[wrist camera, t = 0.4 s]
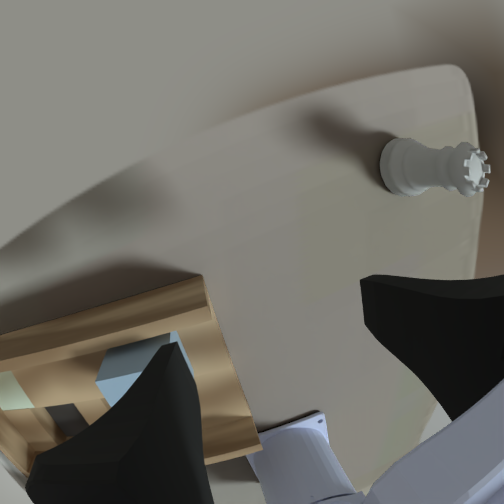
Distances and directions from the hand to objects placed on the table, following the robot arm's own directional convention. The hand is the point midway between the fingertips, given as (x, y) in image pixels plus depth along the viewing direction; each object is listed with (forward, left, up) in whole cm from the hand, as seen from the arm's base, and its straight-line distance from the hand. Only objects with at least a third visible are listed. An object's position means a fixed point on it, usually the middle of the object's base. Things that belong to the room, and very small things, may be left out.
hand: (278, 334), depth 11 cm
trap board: (-6, +13, -9) cm, 17 cm away
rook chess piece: (+4, -14, -10) cm, 17 cm away
